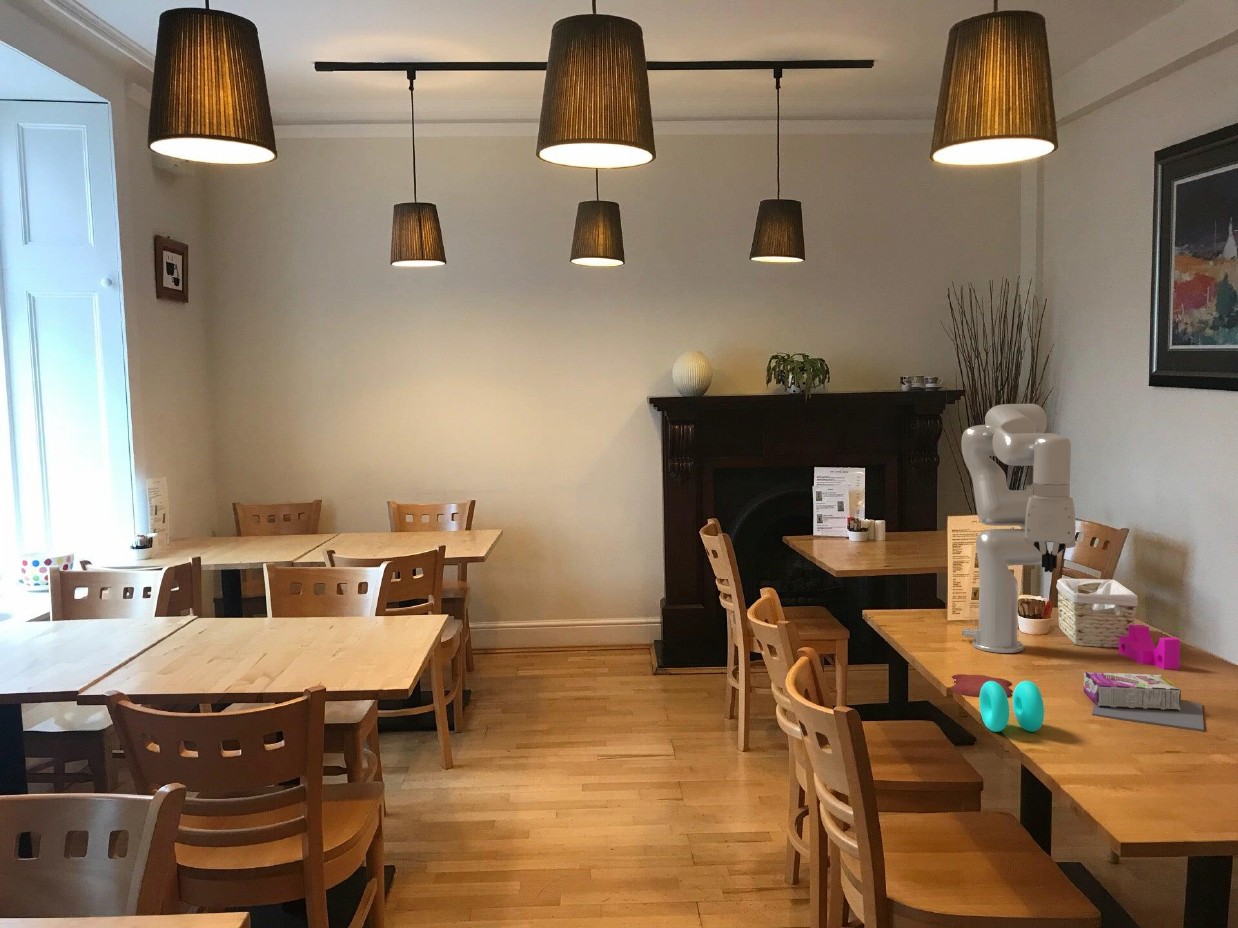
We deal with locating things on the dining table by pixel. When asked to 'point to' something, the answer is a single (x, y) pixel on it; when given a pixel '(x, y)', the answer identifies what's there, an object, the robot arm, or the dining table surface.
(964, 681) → the patty
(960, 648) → the dining table surface
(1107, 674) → the candy bar box
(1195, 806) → the dining table surface
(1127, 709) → the mat
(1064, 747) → the dining table surface
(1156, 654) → the toy block
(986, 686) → the donuts
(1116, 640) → the storage basket
